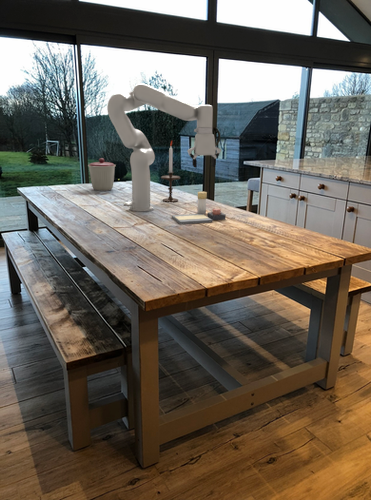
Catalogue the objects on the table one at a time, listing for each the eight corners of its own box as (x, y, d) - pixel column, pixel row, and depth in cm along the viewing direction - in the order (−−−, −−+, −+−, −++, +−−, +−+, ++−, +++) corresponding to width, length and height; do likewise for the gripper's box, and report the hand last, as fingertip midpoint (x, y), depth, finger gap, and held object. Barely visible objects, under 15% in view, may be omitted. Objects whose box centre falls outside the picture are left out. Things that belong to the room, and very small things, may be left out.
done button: (214, 216, 199) (214, 210, 198) (211, 214, 203) (211, 208, 202) (221, 216, 201) (222, 210, 200) (218, 214, 204) (218, 208, 203)
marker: (199, 214, 210) (199, 193, 206) (195, 212, 214) (196, 191, 210) (207, 214, 211) (208, 192, 208) (204, 212, 215) (204, 191, 212)
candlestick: (176, 199, 250) (177, 139, 239) (181, 202, 240) (182, 140, 229) (159, 199, 246) (159, 139, 236) (164, 203, 236) (164, 140, 226)
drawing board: (180, 224, 189) (180, 221, 189) (171, 217, 202) (171, 215, 201) (212, 222, 194) (212, 219, 194) (201, 215, 207) (201, 213, 206)
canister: (90, 187, 284) (89, 156, 278) (117, 187, 286) (116, 157, 280) (87, 192, 267) (85, 159, 261) (115, 192, 269) (114, 159, 263)
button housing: (212, 220, 198) (212, 215, 197) (207, 217, 204) (207, 212, 203) (225, 219, 200) (225, 214, 199) (219, 216, 206) (220, 211, 206)
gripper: (189, 131, 194) (189, 168, 199) (223, 131, 199) (222, 167, 204) (185, 131, 201) (185, 166, 206) (218, 131, 206) (217, 165, 211)
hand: (204, 166), depth 205 cm, fingers open, 9 cm apart
